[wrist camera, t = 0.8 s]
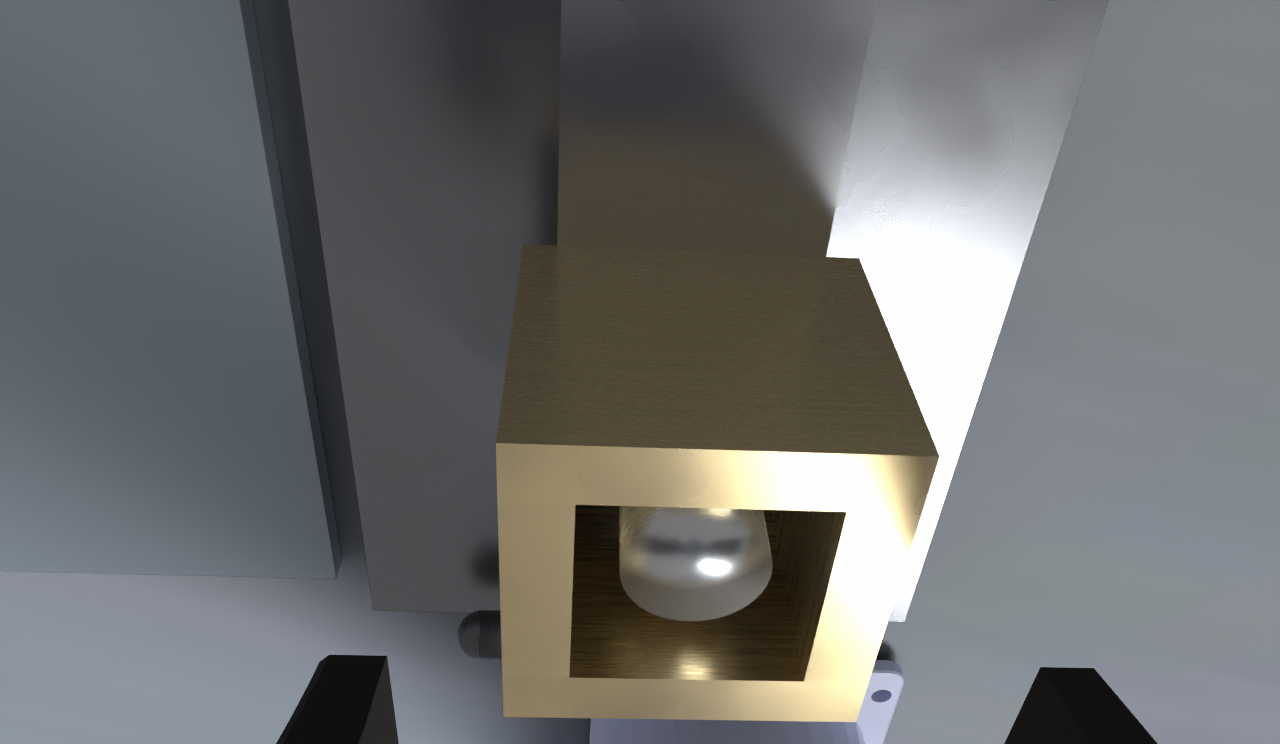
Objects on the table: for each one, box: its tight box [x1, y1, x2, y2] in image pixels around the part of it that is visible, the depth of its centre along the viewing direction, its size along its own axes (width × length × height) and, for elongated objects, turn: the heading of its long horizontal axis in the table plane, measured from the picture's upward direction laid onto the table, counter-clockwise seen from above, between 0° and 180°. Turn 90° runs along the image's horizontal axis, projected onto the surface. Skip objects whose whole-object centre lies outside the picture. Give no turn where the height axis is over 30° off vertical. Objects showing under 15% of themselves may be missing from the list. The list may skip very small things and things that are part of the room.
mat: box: [0, 0, 342, 579], centre depth 19 cm, size 14×10×1 cm
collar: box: [496, 244, 940, 722], centre depth 15 cm, size 5×5×4 cm
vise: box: [288, 0, 1109, 659], centre depth 16 cm, size 16×12×8 cm
